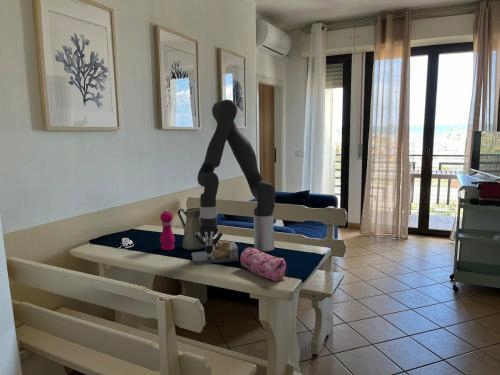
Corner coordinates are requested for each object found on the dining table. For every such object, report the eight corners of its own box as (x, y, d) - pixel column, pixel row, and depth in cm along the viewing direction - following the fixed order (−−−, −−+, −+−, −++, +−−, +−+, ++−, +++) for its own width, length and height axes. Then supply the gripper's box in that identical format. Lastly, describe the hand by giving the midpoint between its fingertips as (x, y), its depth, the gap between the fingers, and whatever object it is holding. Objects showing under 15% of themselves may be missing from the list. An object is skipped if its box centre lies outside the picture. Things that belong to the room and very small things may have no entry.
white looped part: (128, 242, 194) (128, 235, 193) (138, 245, 189) (138, 237, 189) (114, 247, 187) (113, 239, 186) (123, 249, 182) (123, 241, 182)
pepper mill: (171, 250, 179) (170, 210, 176) (157, 250, 180) (156, 210, 177) (177, 246, 186) (176, 207, 183) (164, 245, 187) (162, 207, 184)
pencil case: (289, 278, 145) (290, 256, 143) (272, 284, 139) (272, 262, 137) (253, 264, 161) (253, 244, 159) (237, 269, 155) (237, 248, 153)
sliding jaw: (217, 250, 173) (217, 240, 172) (220, 257, 163) (219, 246, 162) (213, 251, 172) (212, 240, 172) (215, 258, 163) (215, 247, 162)
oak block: (228, 252, 172) (228, 239, 171) (230, 255, 167) (230, 242, 166) (217, 252, 171) (217, 240, 170) (219, 256, 166) (219, 243, 165)
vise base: (234, 252, 176) (233, 241, 175) (238, 260, 164) (238, 248, 163) (191, 255, 172) (191, 244, 171) (193, 264, 160) (192, 252, 159)
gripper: (193, 218, 160) (194, 257, 162) (224, 217, 162) (224, 255, 165) (192, 214, 167) (193, 251, 169) (221, 213, 170) (222, 249, 172)
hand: (208, 253), depth 167 cm, fingers closed
